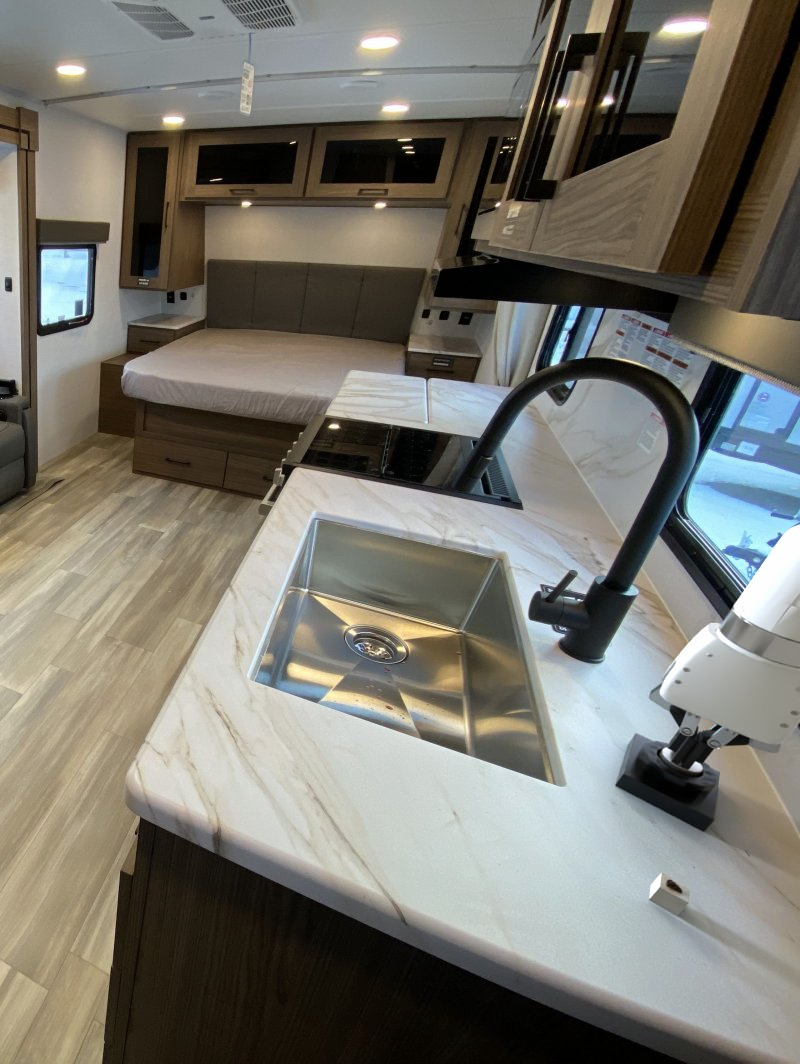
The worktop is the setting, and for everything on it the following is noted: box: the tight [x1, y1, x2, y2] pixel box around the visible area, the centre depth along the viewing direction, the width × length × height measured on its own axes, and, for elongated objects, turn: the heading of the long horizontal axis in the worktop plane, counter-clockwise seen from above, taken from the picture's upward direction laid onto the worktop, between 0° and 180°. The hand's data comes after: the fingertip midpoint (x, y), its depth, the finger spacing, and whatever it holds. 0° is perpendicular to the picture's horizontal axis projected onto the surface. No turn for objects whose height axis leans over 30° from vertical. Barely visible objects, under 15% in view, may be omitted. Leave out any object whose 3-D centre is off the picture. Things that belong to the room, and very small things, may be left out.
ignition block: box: [614, 732, 721, 833], centre depth 70 cm, size 10×8×4 cm
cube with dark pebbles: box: [648, 872, 691, 917], centre depth 58 cm, size 2×2×2 cm
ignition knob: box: [658, 748, 703, 778], centre depth 69 cm, size 4×4×2 cm
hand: (680, 758), depth 69 cm, fingers closed
